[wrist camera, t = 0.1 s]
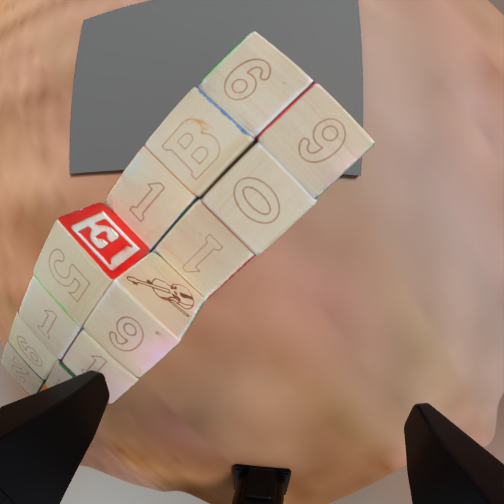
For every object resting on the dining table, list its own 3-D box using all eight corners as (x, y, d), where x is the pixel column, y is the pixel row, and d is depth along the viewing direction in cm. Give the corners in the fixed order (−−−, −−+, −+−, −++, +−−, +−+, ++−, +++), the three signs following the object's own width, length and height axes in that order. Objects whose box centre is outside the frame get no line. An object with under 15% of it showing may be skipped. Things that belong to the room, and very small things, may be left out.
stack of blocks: (272, 81, 18) (243, -12, 6) (341, 149, 18) (414, 144, 7) (93, 285, 24) (-3, 363, 12) (144, 335, 25) (70, 437, 13)
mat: (359, 175, 19) (360, 175, 19) (72, 173, 22) (69, 173, 21) (356, -5, 15) (357, -7, 15) (86, 21, 18) (83, 20, 17)
